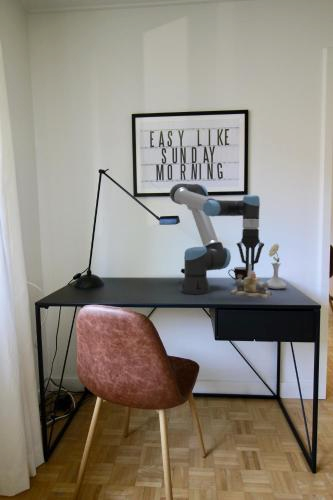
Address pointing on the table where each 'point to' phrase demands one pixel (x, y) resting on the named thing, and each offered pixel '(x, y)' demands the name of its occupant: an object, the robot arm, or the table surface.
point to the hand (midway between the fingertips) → (249, 277)
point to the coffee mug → (239, 273)
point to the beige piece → (251, 288)
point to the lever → (253, 275)
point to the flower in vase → (275, 271)
